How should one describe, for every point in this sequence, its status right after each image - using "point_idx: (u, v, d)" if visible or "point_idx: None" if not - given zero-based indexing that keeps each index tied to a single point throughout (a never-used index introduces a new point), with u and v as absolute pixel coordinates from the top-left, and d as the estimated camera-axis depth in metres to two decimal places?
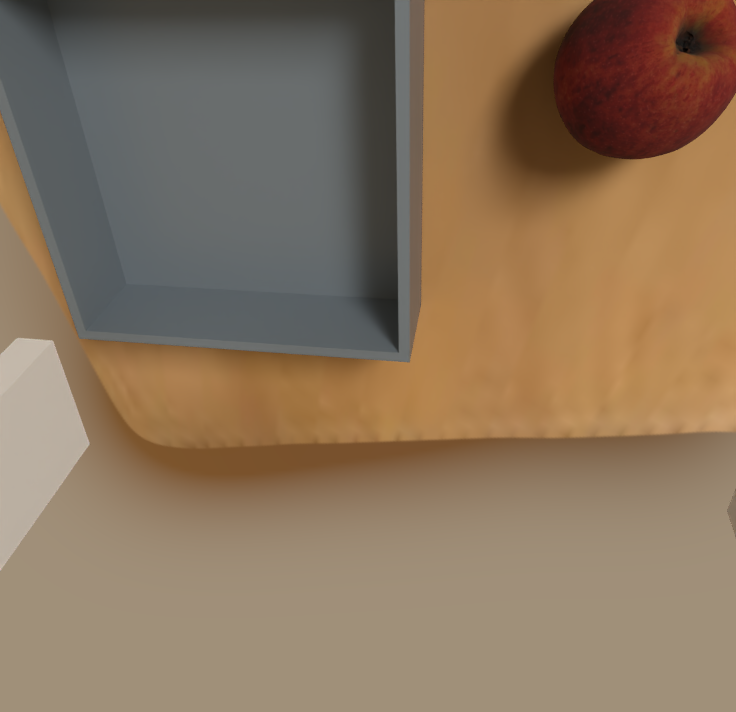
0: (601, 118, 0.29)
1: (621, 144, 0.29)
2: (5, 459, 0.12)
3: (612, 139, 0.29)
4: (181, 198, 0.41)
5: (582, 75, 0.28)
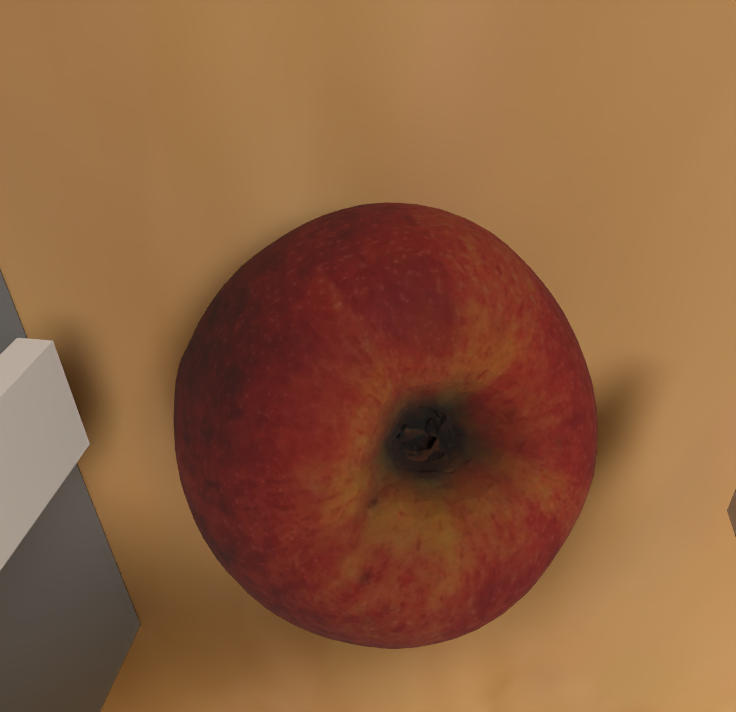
0: None
1: None
2: (5, 459, 0.12)
3: None
4: None
5: (182, 479, 0.11)
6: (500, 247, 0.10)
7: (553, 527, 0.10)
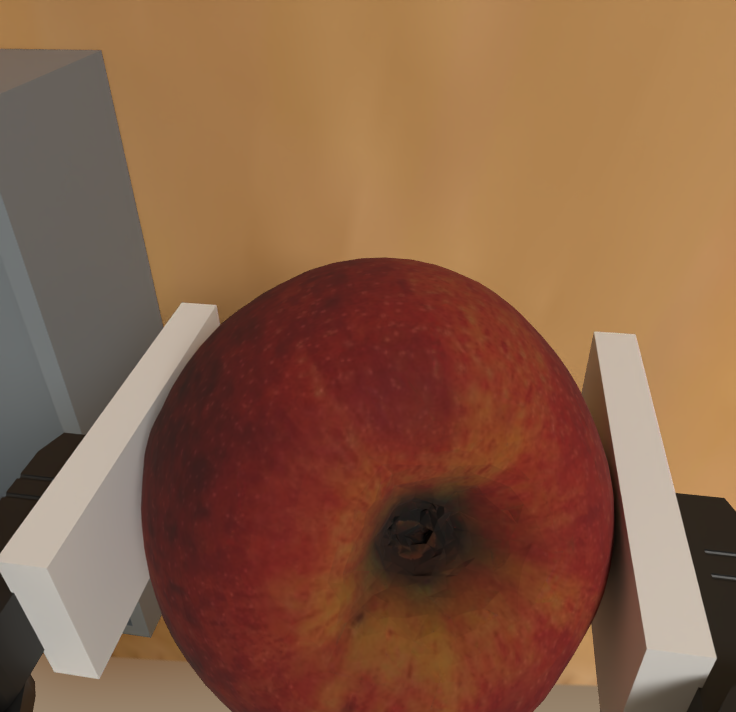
0: None
1: None
2: None
3: None
4: None
5: (148, 569, 0.10)
6: (506, 316, 0.09)
7: (566, 640, 0.09)
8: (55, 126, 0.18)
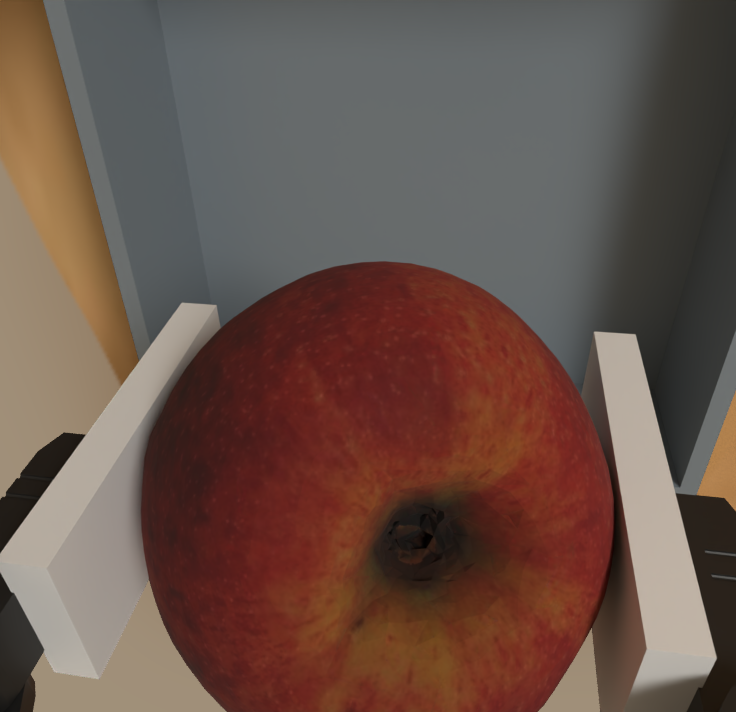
0: None
1: None
2: None
3: None
4: (322, 234, 0.27)
5: (148, 572, 0.10)
6: (506, 321, 0.09)
7: (566, 645, 0.09)
8: None
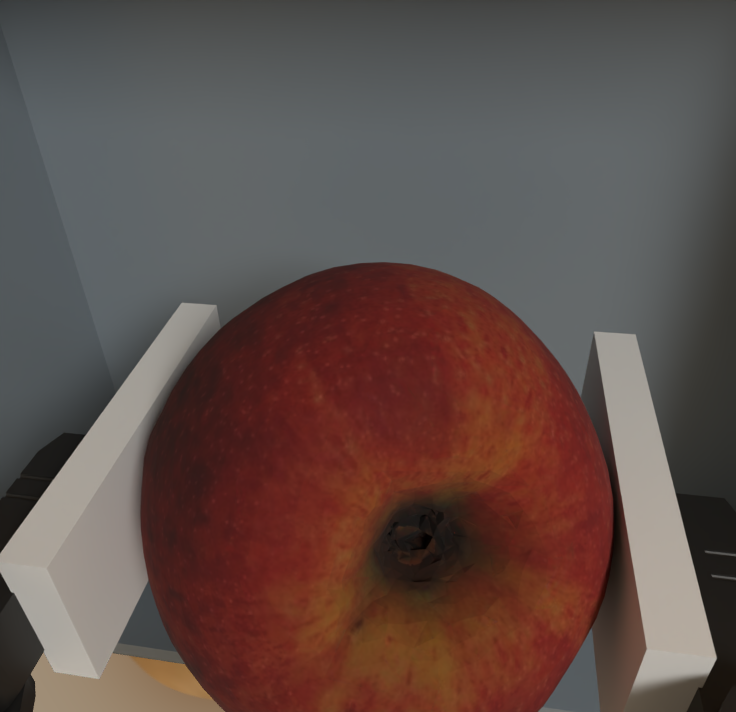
0: None
1: None
2: None
3: None
4: None
5: (147, 573, 0.10)
6: (506, 322, 0.09)
7: (565, 646, 0.09)
8: None
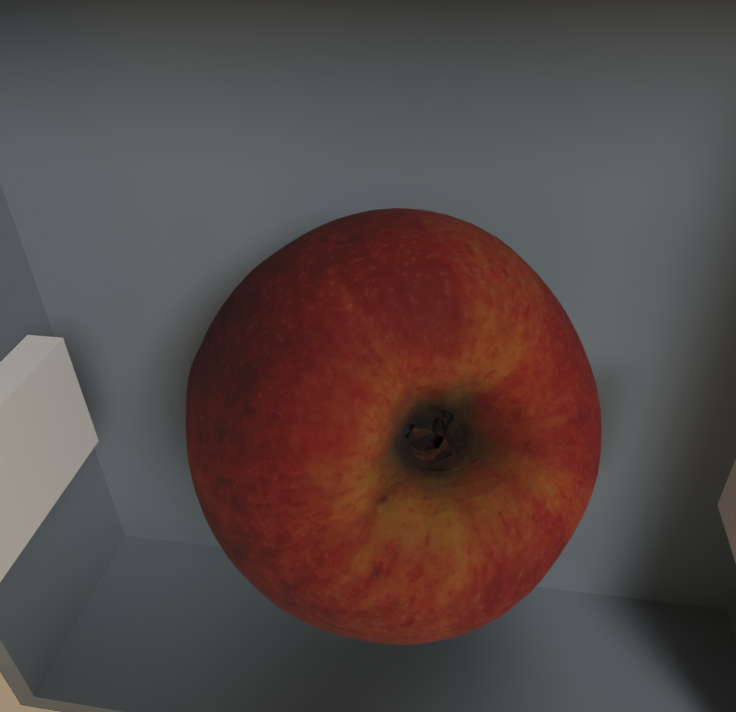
0: (247, 579, 0.12)
1: None
2: (16, 455, 0.12)
3: None
4: None
5: (194, 478, 0.11)
6: (506, 251, 0.11)
7: (559, 524, 0.10)
8: None
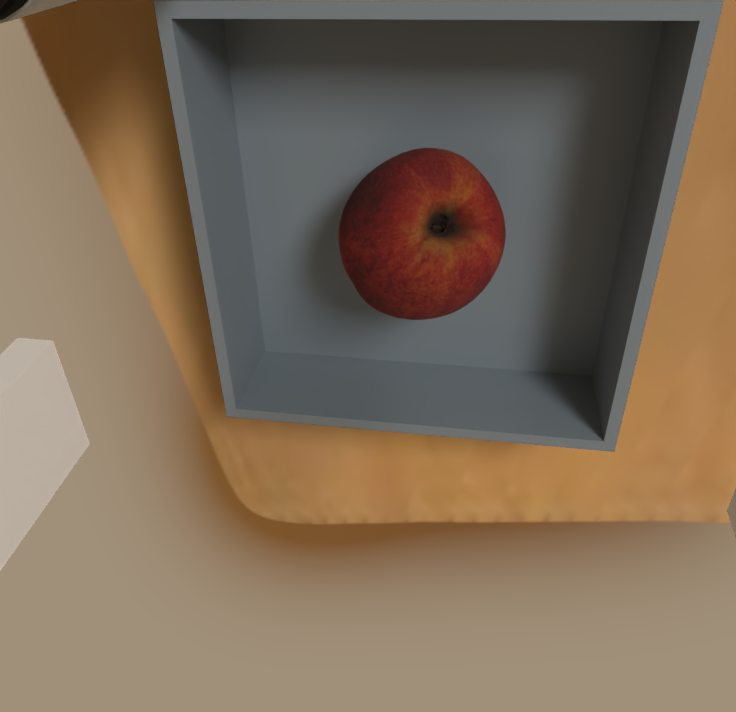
0: (368, 289, 0.30)
1: (392, 311, 0.30)
2: (5, 459, 0.12)
3: (383, 307, 0.30)
4: None
5: (349, 249, 0.30)
6: (467, 160, 0.29)
7: (486, 254, 0.28)
8: None
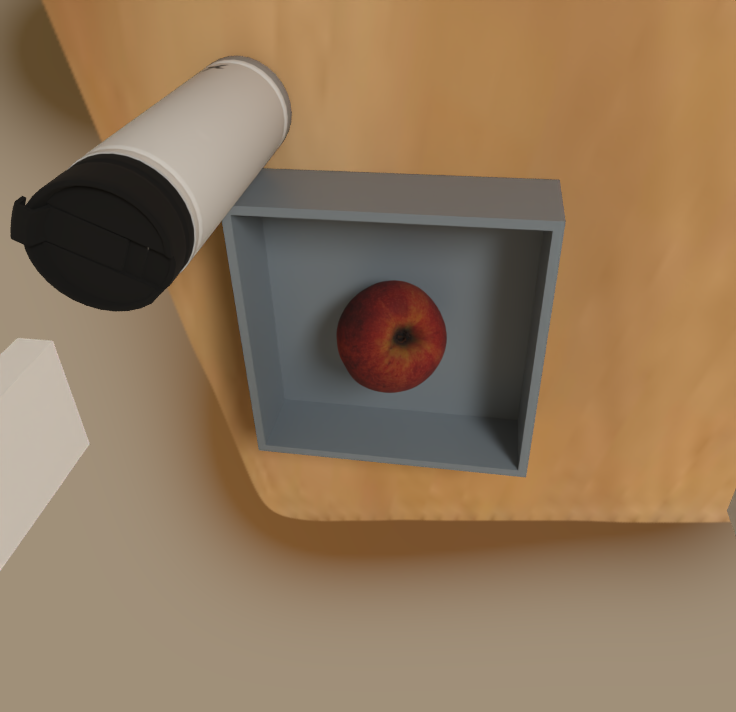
0: (355, 375, 0.45)
1: (371, 388, 0.46)
2: (5, 459, 0.12)
3: (365, 386, 0.46)
4: None
5: (343, 349, 0.45)
6: (420, 293, 0.45)
7: (431, 356, 0.44)
8: None
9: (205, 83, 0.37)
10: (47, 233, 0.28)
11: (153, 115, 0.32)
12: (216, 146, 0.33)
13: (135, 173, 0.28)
